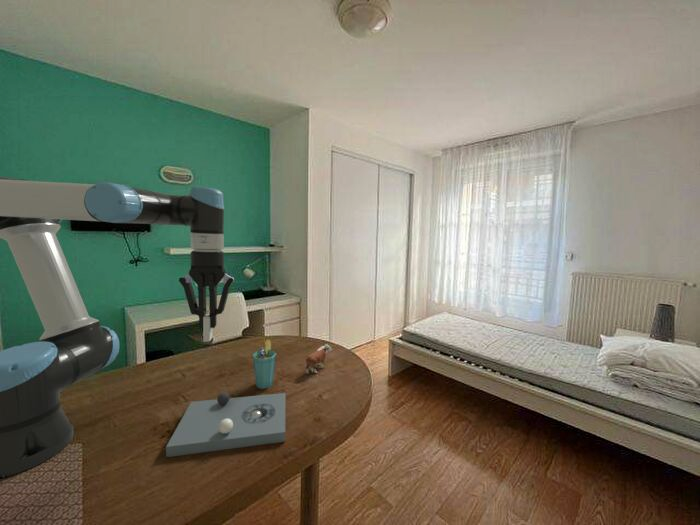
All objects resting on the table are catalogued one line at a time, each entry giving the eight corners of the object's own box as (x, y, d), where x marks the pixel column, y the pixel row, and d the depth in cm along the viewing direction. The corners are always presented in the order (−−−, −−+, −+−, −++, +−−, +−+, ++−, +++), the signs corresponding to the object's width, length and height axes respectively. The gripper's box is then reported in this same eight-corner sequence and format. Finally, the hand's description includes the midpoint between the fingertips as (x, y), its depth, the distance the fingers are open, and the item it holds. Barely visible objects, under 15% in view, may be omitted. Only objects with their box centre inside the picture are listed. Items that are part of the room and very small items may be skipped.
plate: (166, 457, 62) (166, 446, 62) (191, 410, 79) (191, 401, 79) (285, 441, 68) (285, 432, 68) (285, 400, 85) (285, 392, 84)
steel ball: (251, 413, 72) (263, 416, 73) (253, 406, 76) (264, 409, 76) (247, 425, 72) (259, 427, 73) (248, 417, 76) (260, 419, 76)
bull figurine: (333, 363, 110) (333, 343, 109) (311, 377, 98) (311, 355, 98) (324, 360, 112) (324, 341, 111) (301, 374, 101) (302, 352, 100)
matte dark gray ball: (216, 407, 76) (215, 396, 76) (218, 400, 79) (218, 390, 79) (228, 406, 77) (228, 395, 77) (230, 399, 80) (230, 389, 80)
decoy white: (217, 437, 65) (217, 425, 65) (220, 428, 68) (220, 416, 68) (231, 436, 66) (231, 423, 66) (234, 426, 69) (234, 414, 69)
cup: (274, 397, 86) (274, 350, 85) (248, 399, 85) (248, 352, 83) (277, 374, 100) (277, 334, 98) (254, 376, 98) (254, 335, 97)
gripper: (173, 250, 66) (174, 346, 68) (232, 252, 68) (231, 344, 71) (184, 248, 73) (185, 335, 75) (237, 250, 76) (236, 333, 78)
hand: (208, 339), depth 73 cm, fingers closed
